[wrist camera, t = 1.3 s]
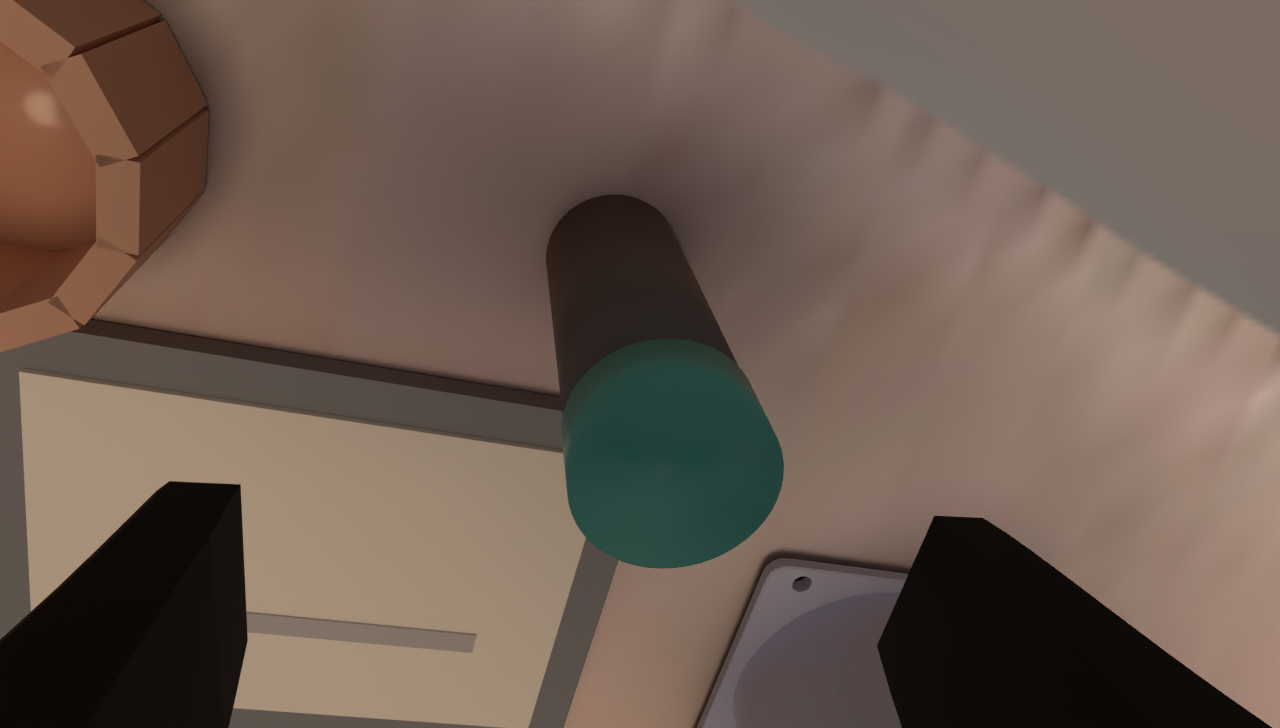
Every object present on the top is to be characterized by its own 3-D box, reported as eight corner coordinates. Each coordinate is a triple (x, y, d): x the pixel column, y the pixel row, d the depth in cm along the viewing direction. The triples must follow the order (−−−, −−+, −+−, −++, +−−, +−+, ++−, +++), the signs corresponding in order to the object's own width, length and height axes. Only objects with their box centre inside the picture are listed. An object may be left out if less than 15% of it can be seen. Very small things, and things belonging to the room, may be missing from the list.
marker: (697, 209, 18) (814, 408, 11) (659, 332, 20) (744, 579, 13) (561, 178, 18) (597, 370, 11) (530, 307, 19) (545, 555, 12)
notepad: (657, 413, 21) (663, 432, 20) (554, 733, 25) (555, 758, 25) (-23, 300, 17) (-45, 318, 17) (5, 694, 22) (-12, 720, 21)
